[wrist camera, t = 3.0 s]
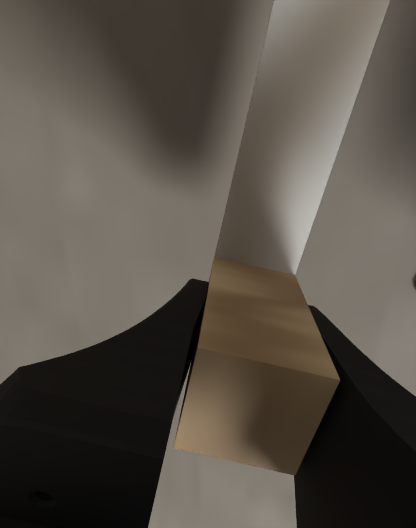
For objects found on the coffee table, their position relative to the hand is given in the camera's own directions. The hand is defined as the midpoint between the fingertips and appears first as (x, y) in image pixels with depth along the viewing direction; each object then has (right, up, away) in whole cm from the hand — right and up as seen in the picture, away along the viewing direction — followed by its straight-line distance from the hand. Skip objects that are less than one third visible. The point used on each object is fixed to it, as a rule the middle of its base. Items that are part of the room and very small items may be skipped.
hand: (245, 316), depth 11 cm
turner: (+1, +5, 0) cm, 5 cm away
